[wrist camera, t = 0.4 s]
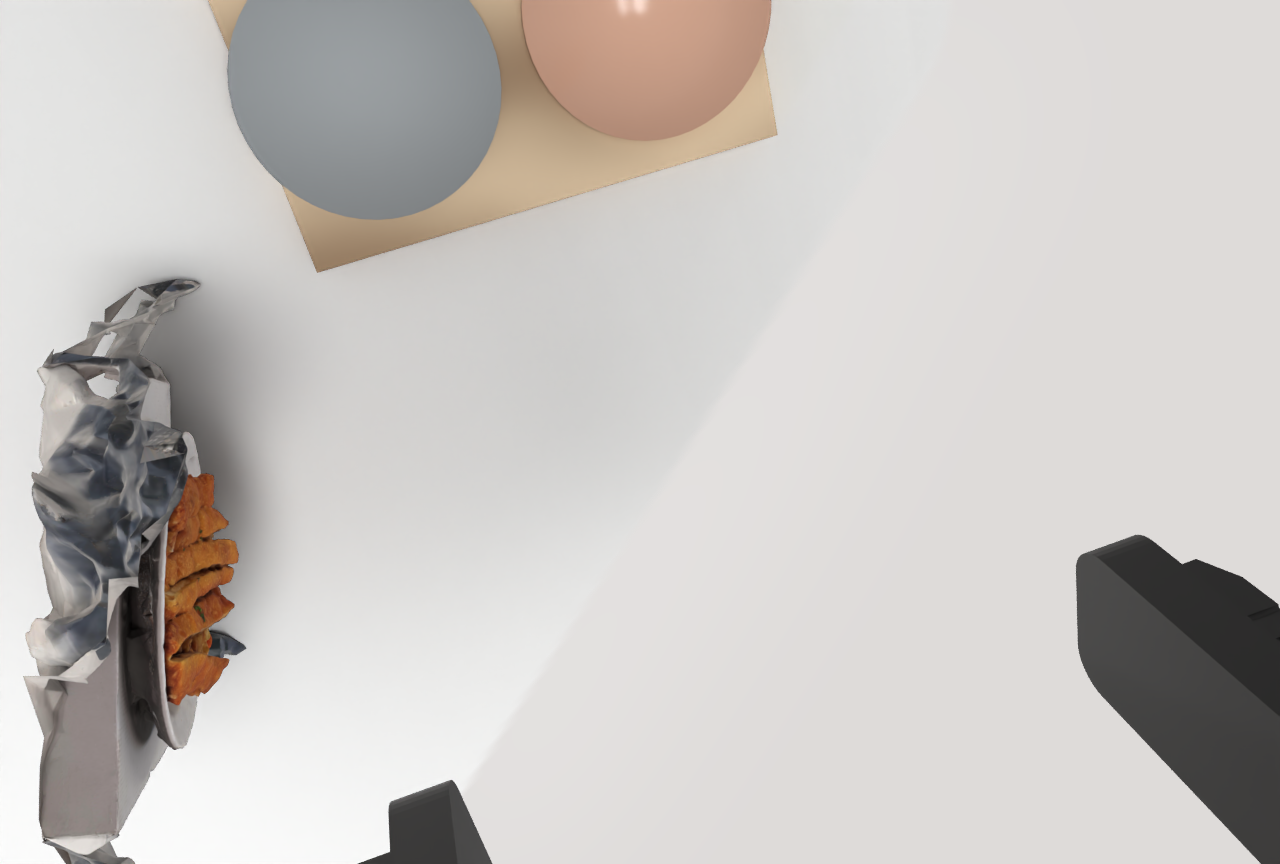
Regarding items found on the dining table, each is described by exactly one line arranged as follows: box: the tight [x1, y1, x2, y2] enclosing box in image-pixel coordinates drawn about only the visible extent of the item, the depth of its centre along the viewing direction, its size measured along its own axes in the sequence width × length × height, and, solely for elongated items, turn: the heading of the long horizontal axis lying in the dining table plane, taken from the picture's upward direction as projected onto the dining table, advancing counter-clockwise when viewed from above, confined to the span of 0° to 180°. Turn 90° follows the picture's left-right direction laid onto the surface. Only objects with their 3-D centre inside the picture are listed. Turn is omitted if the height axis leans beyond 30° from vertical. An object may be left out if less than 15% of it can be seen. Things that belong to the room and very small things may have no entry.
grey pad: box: [227, 0, 501, 220], centre depth 32 cm, size 8×8×1 cm
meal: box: [23, 279, 246, 864], centre depth 31 cm, size 15×4×13 cm, turn 174°
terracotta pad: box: [521, 0, 771, 141], centre depth 33 cm, size 8×8×1 cm
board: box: [208, 0, 777, 273], centre depth 33 cm, size 10×16×1 cm, turn 104°
